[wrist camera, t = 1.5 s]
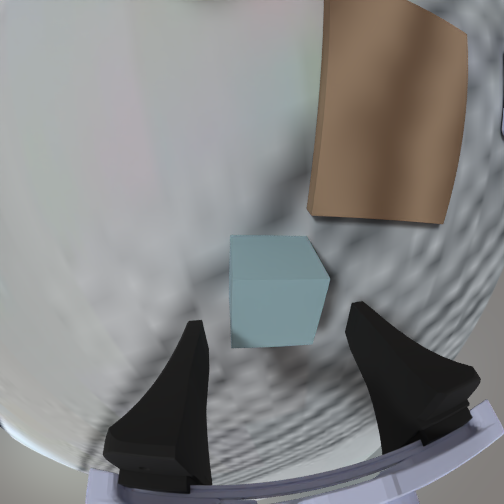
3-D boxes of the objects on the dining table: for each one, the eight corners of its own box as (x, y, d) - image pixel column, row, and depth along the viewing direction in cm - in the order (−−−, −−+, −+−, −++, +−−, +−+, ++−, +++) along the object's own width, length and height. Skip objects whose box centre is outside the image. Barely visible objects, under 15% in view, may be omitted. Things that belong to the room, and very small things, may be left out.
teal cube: (306, 235, 17) (330, 278, 13) (295, 295, 19) (312, 344, 15) (230, 234, 16) (232, 280, 12) (229, 296, 18) (231, 348, 14)
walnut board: (457, 35, 10) (466, 34, 9) (434, 218, 17) (443, 224, 16) (324, -21, 9) (330, -27, 8) (306, 208, 16) (311, 215, 15)
